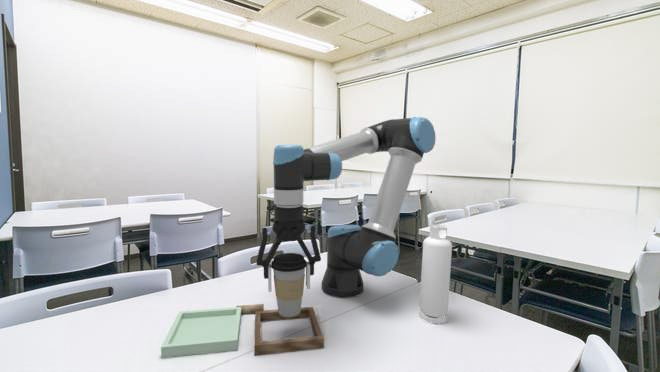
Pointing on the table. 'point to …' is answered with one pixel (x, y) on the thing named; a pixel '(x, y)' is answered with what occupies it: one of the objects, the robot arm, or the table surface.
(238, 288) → the table surface
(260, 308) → the birch dowel
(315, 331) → the walnut frame
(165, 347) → the sage tray
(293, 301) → the coffee cup
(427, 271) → the bottle
